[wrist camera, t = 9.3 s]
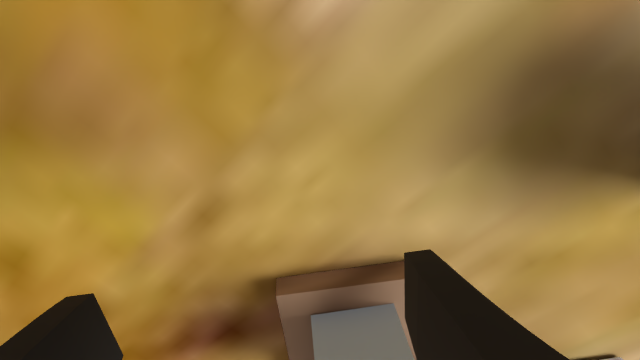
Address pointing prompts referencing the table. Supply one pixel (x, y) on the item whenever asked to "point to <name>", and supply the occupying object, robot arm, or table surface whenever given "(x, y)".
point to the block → (360, 335)
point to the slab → (336, 299)
